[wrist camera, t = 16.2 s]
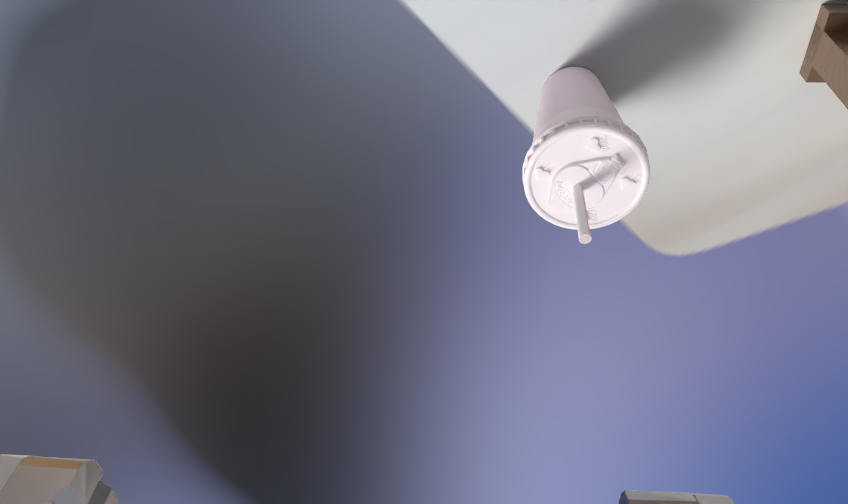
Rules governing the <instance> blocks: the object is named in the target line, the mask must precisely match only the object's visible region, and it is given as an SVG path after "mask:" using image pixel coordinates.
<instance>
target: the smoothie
mask: <svg viewBox="0 0 848 504" xmlns="http://www.w3.org/2000/svg"><path fill="white" fill-rule="evenodd" d="M649 180H650V167H649V160H648V155H647V150H646V147H645V146H644V144H643V142H642V141H641V139H640V137H639V136H638V135H637V134H636V133H635V132H634V131H633V130H631V129H630V128H629V127H628V126H627V125H625V124H624V122H623V120H622V119H621V117H620V115H619V114H618V112H617V110H616V108H615V107H614V105H613V103H612V102H611V100H610V98H609V96H608V95H607V93H606V91H605V90H604V88H603V86H602V84H601V83H600V81H599V79H598V78H597V76H596V75H595V74H594V73H592V72H591V71H589V70H587V69H585V68H581V67H567V68H563V69H560V70H558V71H556V72H555V73H553V74H552V75H551V76H550V77H549V78H548V79H547V80H546V82H545V83H544V85H543V88H542V91H541V97H540V103H539V109H538V114H537V120H536V126H535V132H534V138H533V144H532V146H531V148H530V149H529V151H528V152H527V154H526V158H525V161H524V164H523V183H524V189H525V194H526V196H527V199H528V201H529V203H530V205H531V206H532V208H533V209H534V210H535V211H536V212H537V213H538V214H539V215H540V216H541V217H542V218H544V219H545V220H547V221H549V222H551V223H553V224H555V225H557V226H561V227H564V228H569V229H578V236H579V241H580V242H581V243H583V244H586V243H589V242H590V241H591V234H590V229H594V228H599V227H603V226H606V225H609V224H611V223H614V222H616V221H618V220H620V219H621V218H623V217H624V216H626V215H627V214H628V213H630V212H631V211H632V210H633V209H634V208H635V207H636V206H637V205H638V204H639V202H640V201H641V200H642V198H643V196H644V194H645V192H646V190H647V187H648V184H649Z"/></svg>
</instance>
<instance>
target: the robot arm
mask: <svg viewBox="0 0 848 504" xmlns="http://www.w3.org/2000/svg"><path fill="white" fill-rule="evenodd" d="M102 474H103V471H102V469H101V468H100V466H99V465H98V463H97V462H96V460H83V459H66V458H49V457H48V458H47V457H36V456H26V455H5V454H0V504H118V502H117V497H116V495H115V493H114V491H113V489H112V488H111V487H109V486H107V485H106V484H104V483H103V482H101V481H100V478H101V476H102ZM619 504H734V503H733V501H732V500H731V498H730V497H728V496H726V495H710V494H691V493H681V492H655V491H631V490H630V491H629V490H624V491H623V492H622V493H621V495H620V499H619Z"/></svg>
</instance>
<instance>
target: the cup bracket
mask: <svg viewBox="0 0 848 504" xmlns="http://www.w3.org/2000/svg"><path fill="white" fill-rule="evenodd" d="M800 74H801V76H802V77H803V78H804V80H805V81H806V82H826V83H827V85H828V86H829V87H830V88H831V89H832V91H833V92H834V93H835V94H836V96H837V97H838V98H839V99H840V100H841V102H842V103H843V104H844V105H845V106H846V108H847V109H848V5H821V8H820V11H819V15H818V18H817V21H816V24H815V27H814V30H813V33H812V36H811V39H810V42H809V46H808V49H807V52H806V55H805V58H804V61H803V64H802V67H801V70H800Z"/></svg>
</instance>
